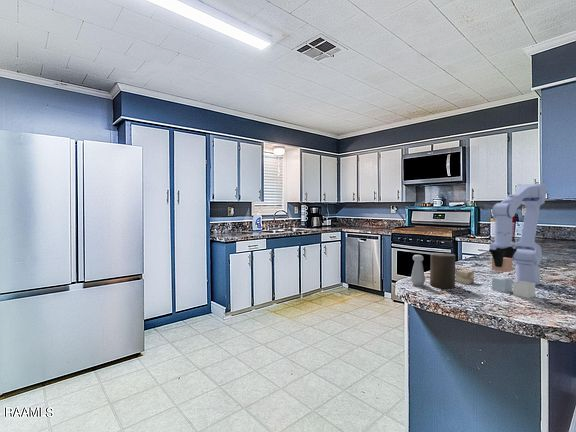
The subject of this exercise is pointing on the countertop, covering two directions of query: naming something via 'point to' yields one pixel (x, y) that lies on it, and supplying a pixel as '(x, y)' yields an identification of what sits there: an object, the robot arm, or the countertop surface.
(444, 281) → the pillar candle
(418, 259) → the salt shaker
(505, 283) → the blue-grey block
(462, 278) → the maple block
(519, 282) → the cream block
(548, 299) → the countertop surface
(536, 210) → the robot arm
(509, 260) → the terracotta block
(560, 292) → the countertop surface
